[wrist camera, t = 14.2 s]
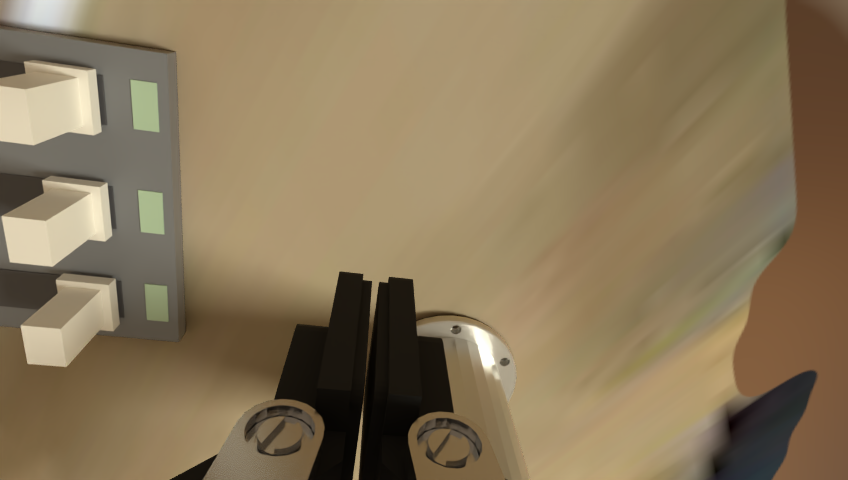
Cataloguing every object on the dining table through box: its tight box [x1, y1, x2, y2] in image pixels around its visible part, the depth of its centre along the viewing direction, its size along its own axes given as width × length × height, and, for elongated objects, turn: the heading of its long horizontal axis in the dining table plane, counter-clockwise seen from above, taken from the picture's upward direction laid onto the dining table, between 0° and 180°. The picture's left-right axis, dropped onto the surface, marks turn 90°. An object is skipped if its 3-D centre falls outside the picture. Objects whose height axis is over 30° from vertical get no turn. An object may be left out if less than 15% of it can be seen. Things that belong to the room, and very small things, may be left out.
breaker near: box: [0, 60, 102, 145], centre depth 31 cm, size 4×4×6 cm
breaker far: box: [21, 273, 120, 367], centre depth 36 cm, size 4×4×6 cm
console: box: [0, 26, 186, 342], centre depth 37 cm, size 22×20×2 cm
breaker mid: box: [1, 176, 112, 267], centre depth 33 cm, size 4×4×6 cm
